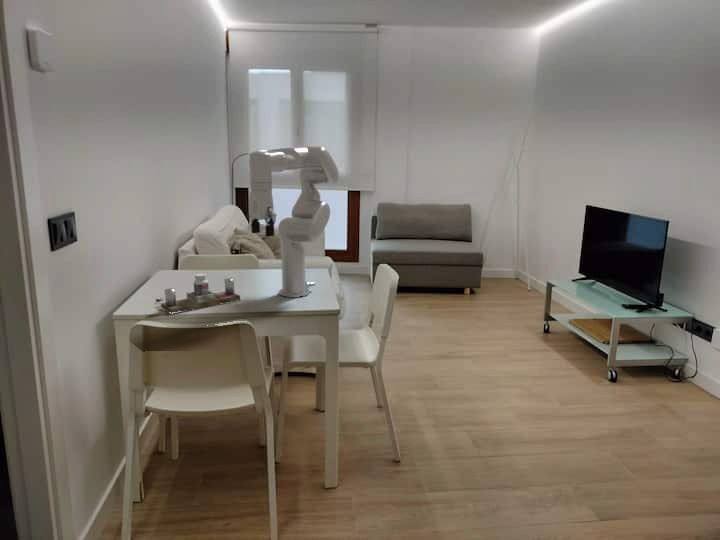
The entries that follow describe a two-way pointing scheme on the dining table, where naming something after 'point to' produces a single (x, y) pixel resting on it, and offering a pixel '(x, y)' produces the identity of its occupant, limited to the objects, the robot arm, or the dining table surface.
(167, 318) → the dining table surface
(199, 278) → the pill bottle
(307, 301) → the dining table surface
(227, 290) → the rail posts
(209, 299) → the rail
